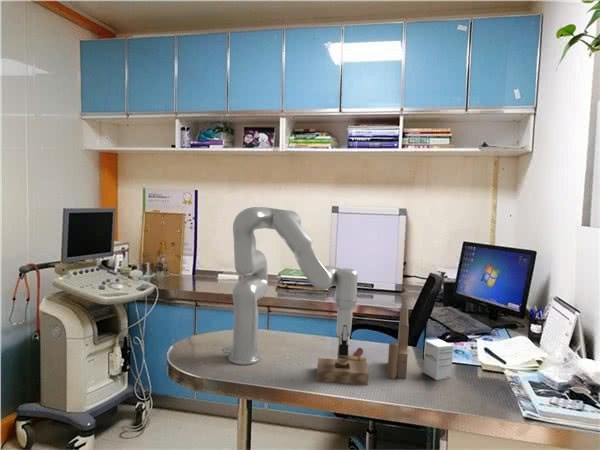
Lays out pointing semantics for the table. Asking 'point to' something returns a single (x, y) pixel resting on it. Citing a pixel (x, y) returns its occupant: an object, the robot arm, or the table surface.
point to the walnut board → (342, 371)
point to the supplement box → (438, 359)
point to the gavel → (357, 356)
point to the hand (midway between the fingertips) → (343, 352)
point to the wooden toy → (399, 349)
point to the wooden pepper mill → (341, 358)
